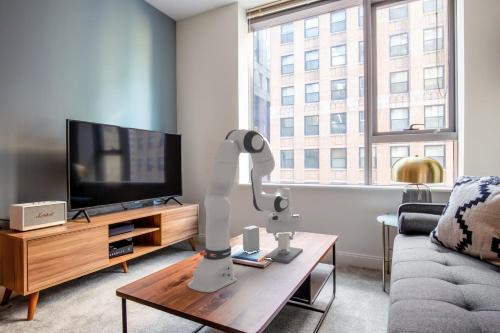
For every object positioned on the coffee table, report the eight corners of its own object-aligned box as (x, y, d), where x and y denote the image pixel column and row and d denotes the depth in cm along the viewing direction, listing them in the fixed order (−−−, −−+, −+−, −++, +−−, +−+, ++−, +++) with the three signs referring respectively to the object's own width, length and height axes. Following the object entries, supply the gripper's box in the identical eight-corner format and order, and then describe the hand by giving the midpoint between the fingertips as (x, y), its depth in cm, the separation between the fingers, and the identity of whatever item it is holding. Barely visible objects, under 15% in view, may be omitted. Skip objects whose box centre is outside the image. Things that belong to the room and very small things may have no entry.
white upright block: (286, 249, 159) (286, 235, 159) (278, 248, 162) (278, 234, 162) (289, 247, 164) (289, 233, 163) (281, 245, 166) (281, 232, 166)
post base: (288, 263, 150) (288, 245, 150) (264, 259, 157) (264, 241, 156) (302, 251, 169) (302, 235, 169) (280, 247, 176) (280, 232, 176)
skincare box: (253, 249, 174) (253, 224, 173) (260, 251, 169) (259, 226, 169) (242, 252, 168) (242, 227, 168) (248, 255, 164) (248, 229, 163)
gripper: (299, 213, 167) (299, 237, 168) (264, 215, 163) (265, 239, 164) (303, 215, 161) (303, 240, 161) (267, 217, 157) (267, 242, 158)
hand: (284, 240), depth 163 cm, fingers open, 7 cm apart
